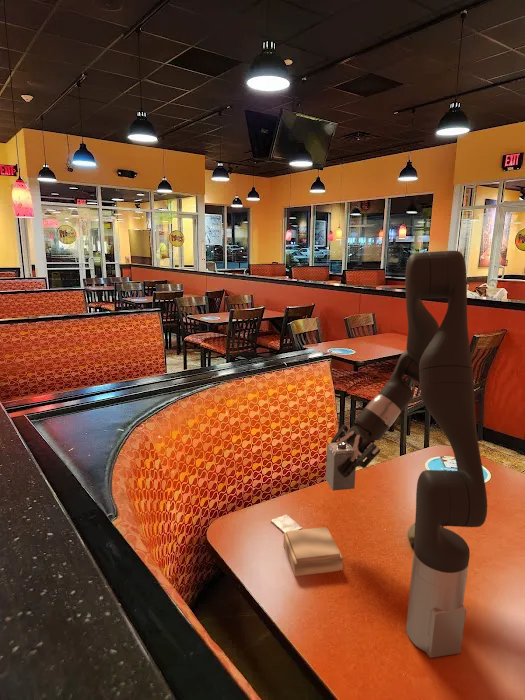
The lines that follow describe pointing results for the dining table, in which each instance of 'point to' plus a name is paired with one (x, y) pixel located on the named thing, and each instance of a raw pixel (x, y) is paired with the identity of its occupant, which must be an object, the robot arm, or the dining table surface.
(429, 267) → the robot arm
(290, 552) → the stand
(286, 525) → the cover plate
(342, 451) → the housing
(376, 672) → the dining table surface
